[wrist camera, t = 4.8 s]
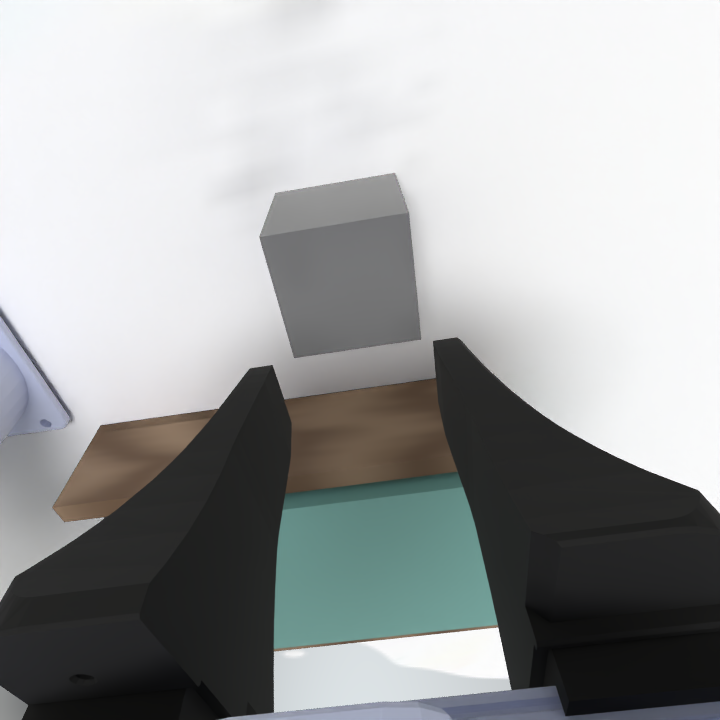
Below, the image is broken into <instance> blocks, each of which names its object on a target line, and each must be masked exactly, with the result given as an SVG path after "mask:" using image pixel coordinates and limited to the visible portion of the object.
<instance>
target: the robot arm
mask: <svg viewBox="0 0 720 720" xmlns="http://www.w3.org/2000/svg"><path fill="white" fill-rule="evenodd" d="M433 347H434V359H435V370H436V382H437V394H438V404H439V408H440V413H441V418H442V423H443V427H444V432H445V436H446V439H447V442H448V445H449V448H450V451H451V454H452V457H453V460H454V463H455V465H456V468H457V471H458V474H459V477H460V480H461V483H462V486H463V489H464V492H465V495H466V497H467V500H468V503H469V506H470V509H471V513H472V516H473V520H474V523H475V527H476V531H477V535H478V540H479V544H480V548H481V552H482V557H483V561H484V565H485V570H486V574H487V579H488V583H489V587H490V592H491V596H492V601H493V605H494V610H495V614H496V619H497V623H498V628H499V633H500V637H501V642H502V646H503V651H504V656H505V661H506V666H507V670H508V675H509V680H510V685H511V689H512V690H509V691H499V692H489V693H480V694H469V695H460V696H449V697H441V698H431V699H420V700H411V701H400V702H376V703H365V704H355V705H346V706H336V707H326V708H317V709H306V710H296V711H287V712H277V713H274V683H273V682H274V680H273V677H274V674H273V673H274V672H273V669H274V668H273V667H274V613H275V584H276V564H277V547H278V538H279V530H280V524H281V518H282V511H283V505H284V499H285V492H286V486H287V480H288V473H289V467H290V460H291V437H292V422H291V419H290V416H289V413H288V410H287V407H286V404H285V401H284V398H283V395H282V392H281V389H280V386H279V383H278V380H277V377H276V374H275V371H274V368H273V365H271V366H264V367H257V368H251V369H249V370H248V372H247V373H246V374H245V375H244V377H243V378H242V379H241V381H240V382H239V383H238V385H237V386H236V387H235V388H234V390H233V391H232V392H231V394H230V395H229V396H228V398H227V399H226V400H225V402H224V403H223V404H222V405H221V407H220V408H219V409H218V410H217V412H216V413H215V414H214V415H213V417H212V418H211V419H210V420H209V422H208V423H207V424H206V425H205V426H204V427H203V428H202V430H201V431H200V432H199V433H198V434H197V435H196V436H195V437H194V439H193V440H192V441H191V442H190V443H189V444H188V445H187V447H186V448H185V449H184V450H183V451H182V452H181V453H180V454H179V455H178V456H177V457H176V458H175V459H174V460H173V461H172V462H171V463H170V464H169V465H168V466H167V467H166V468H165V469H164V470H163V471H161V472H160V473H159V474H158V475H157V476H156V477H155V478H154V479H153V480H152V481H151V482H149V483H148V484H147V485H146V486H145V487H143V488H142V489H141V490H140V491H139V492H137V493H136V494H135V495H134V496H133V497H131V498H130V499H129V500H128V501H127V502H125V503H124V504H123V505H122V506H121V507H119V508H118V509H117V510H115V511H114V512H113V513H111V514H110V515H109V516H107V517H106V518H105V519H103V520H102V521H101V522H99V523H98V524H97V525H95V526H94V527H92V528H91V529H89V530H88V531H87V532H85V533H84V534H82V535H81V536H79V537H78V538H77V539H75V540H74V541H72V542H71V543H69V544H68V545H66V546H64V547H63V548H61V549H60V550H58V551H56V552H55V553H53V554H52V555H50V556H48V557H47V558H45V559H44V560H42V561H40V562H39V563H37V564H36V565H34V566H32V567H31V568H29V569H28V570H26V571H24V572H22V573H21V574H19V575H17V576H16V577H15V578H14V580H13V581H12V583H11V584H10V586H9V588H8V590H7V591H6V593H5V595H4V596H3V598H2V600H1V602H0V686H2V687H3V688H5V689H6V690H7V691H9V692H10V693H12V694H13V695H15V696H16V697H18V698H19V699H21V700H22V701H23V702H25V703H26V704H28V708H27V710H26V712H25V714H24V716H23V718H22V720H720V514H719V512H718V511H717V510H716V509H715V508H714V507H713V506H712V505H711V504H710V503H709V501H708V500H707V499H706V498H705V497H704V496H703V495H702V494H701V493H700V491H698V490H696V489H693V488H691V487H688V486H685V485H683V484H680V483H677V482H675V481H672V480H670V479H667V478H664V477H662V476H659V475H657V474H654V473H651V472H649V471H646V470H644V469H642V468H639V467H637V466H635V465H633V464H631V463H628V462H626V461H624V460H622V459H620V458H617V457H615V456H613V455H611V454H609V453H607V452H605V451H603V450H601V449H599V448H597V447H595V446H593V445H592V444H590V443H588V442H586V441H584V440H583V439H581V438H579V437H577V436H575V435H573V434H572V433H570V432H568V431H567V430H565V429H563V428H562V427H560V426H558V425H557V424H555V423H554V422H552V421H551V420H549V419H548V418H546V417H545V416H543V415H542V414H541V413H539V412H538V411H536V410H535V409H534V408H532V407H531V406H530V405H529V404H527V403H526V402H525V401H523V400H522V399H521V398H520V397H519V396H517V395H516V394H515V393H514V392H512V391H511V390H510V389H509V388H508V387H507V386H505V385H504V384H503V383H502V382H501V381H500V380H499V379H498V378H497V377H496V376H495V375H494V374H492V373H491V372H490V371H489V370H488V369H487V368H486V367H485V366H484V365H483V364H482V363H481V362H480V361H479V360H478V359H477V358H476V357H475V355H474V354H473V353H472V352H471V351H470V350H469V349H468V348H467V347H466V345H465V344H464V343H463V342H462V341H461V340H460V339H458V338H450V339H444V340H437V341H433ZM47 420H48V421H47ZM49 421H50V422H49ZM69 421H70V418H69V416H68V414H67V413H66V411H65V410H64V408H63V407H62V405H61V404H60V402H59V401H58V400H57V398H56V397H55V395H54V394H53V392H52V391H51V389H50V388H49V386H48V385H47V383H46V382H45V381H44V379H43V378H42V376H41V375H40V373H39V372H38V370H37V369H36V367H35V366H34V365H33V363H32V362H31V360H30V359H29V357H28V356H27V354H26V353H25V351H24V350H23V348H22V347H21V346H20V344H19V343H18V341H17V340H16V338H15V337H14V335H13V334H12V332H11V331H10V329H9V328H8V327H7V325H6V324H5V322H4V321H3V319H2V318H1V316H0V444H1V442H2V441H3V440H4V439H5V437H6V436H13V435H20V434H27V433H34V432H42V431H49V430H56V429H62V428H65V427H66V426H67V424H68V423H69Z"/></svg>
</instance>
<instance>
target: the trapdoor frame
mask: <svg viewBox="0 0 720 720" xmlns="http://www.w3.org/2000/svg"><path fill="white" fill-rule="evenodd" d="M284 401H285V404H286V407H287V410H288V413H289V416H290V419H291V422H292V437H291V460H290V467H289V473H288V480H287V486H286V492H285V494H287V493H295V492H303V491H311V490H318V489H326V488H334V487H342V486H350V485H357V484H365V483H373V482H381V481H389V480H396V479H404V478H412V477H420V476H428V475H435V474H443V473H451V472H458V471H457V468H456V465H455V463H454V460H453V457H452V454H451V451H450V448H449V445H448V442H447V439H446V436H445V432H444V427H443V423H442V418H441V413H440V408H439V404H438V394H437V382H436V379H429V380H422V381H415V382H408V383H401V384H394V385H387V386H380V387H372V388H365V389H358V390H351V391H344V392H337V393H330V394H323V395H316V396H308V397H301V398H294V399H287V400H284ZM217 410H218V409H216V410H209V411H202V412H195V413H187V414H180V415H173V416H166V417H159V418H152V419H145V420H138V421H131V422H123V423H116V424H109V425H102V426H100V428H99V429H98V431H97V433H96V434H95V436H94V438H93V439H92V441H91V443H90V445H89V446H88V448H87V450H86V451H85V453H84V455H83V456H82V458H81V460H80V462H79V463H78V465H77V467H76V468H75V470H74V472H73V473H72V475H71V477H70V479H69V480H68V482H67V484H66V485H65V487H64V489H63V490H62V492H61V494H60V496H59V497H58V499H57V501H56V502H55V504H54V506H53V507H52V508H53V509H54V510H55V511H56V513H57V514H58V515H59V516H60V517H61V519H62V520H63V521H64V522H69V521H77V520H84V519H92V518H100V517H107V516H109V515H110V514H111V513H113V512H114V511H115V510H117V509H118V508H119V507H121V506H122V505H123V504H124V503H125V502H127V501H128V500H129V499H130V498H131V497H133V496H134V495H135V494H136V493H137V492H139V491H140V490H141V489H142V488H143V487H145V486H146V485H147V484H148V483H149V482H151V481H152V480H153V479H154V478H155V477H156V476H157V475H158V474H159V473H160V472H161V471H163V470H164V469H165V468H166V467H167V466H168V465H169V464H170V463H171V462H172V461H173V460H174V459H175V458H176V457H177V456H178V455H179V454H180V453H181V452H182V451H183V450H184V449H185V448H186V447H187V445H188V444H189V443H190V442H191V441H192V440H193V439H194V437H195V436H196V435H197V434H198V433H199V432H200V431H201V430H202V428H203V427H204V426H205V425H206V424H207V423H208V422H209V420H210V419H211V418H212V417H213V415H214V414H215V413H216V412H217ZM496 627H498V625H492V626H482V627H473V628H464V629H454V630H445V631H436V632H427V633H417V634H408V635H399V636H390V637H380V638H371V639H362V640H353V641H343V642H334V643H325V644H315V645H306V646H297V647H288V648H278V649H274V651H282V650H292V649H301V648H310V647H320V646H329V645H337V644H347V643H357V642H366V641H375V640H385V639H394V638H403V637H412V636H422V635H431V634H440V633H450V632H459V631H468V630H478V629H487V628H496Z"/></svg>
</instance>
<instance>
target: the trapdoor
mask: <svg viewBox="0 0 720 720" xmlns="http://www.w3.org/2000/svg"><path fill="white" fill-rule="evenodd" d="M105 518H106V517H104V519H105ZM492 625H498V623H497V619H496V614H495V610H494V605H493V601H492V596H491V592H490V587H489V583H488V579H487V574H486V570H485V565H484V561H483V557H482V552H481V548H480V544H479V540H478V535H477V531H476V527H475V523H474V520H473V516H472V513H471V509H470V506H469V503H468V500H467V497H466V495H465V492H464V489H463V486H462V483H461V480H460V477H459V474H458V472H451V473H443V474H435V475H428V476H420V477H412V478H404V479H396V480H389V481H381V482H373V483H365V484H357V485H350V486H342V487H334V488H326V489H318V490H311V491H303V492H295V493H287V494H285V499H284V505H283V511H282V518H281V524H280V530H279V538H278V547H277V564H276V584H275V613H274V649H278V648H288V647H297V646H306V645H315V644H325V643H334V642H343V641H353V640H362V639H371V638H380V637H390V636H399V635H408V634H417V633H427V632H436V631H445V630H454V629H464V628H473V627H482V626H492Z"/></svg>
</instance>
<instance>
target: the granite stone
mask: <svg viewBox="0 0 720 720" xmlns="http://www.w3.org/2000/svg"><path fill="white" fill-rule="evenodd" d="M260 241H261V244H262V248H263V251H264V255H265V258H266V262H267V265H268V269H269V272H270V276H271V279H272V282H273V286H274V289H275V293H276V296H277V300H278V303H279V307H280V310H281V314H282V317H283V321H284V324H285V328H286V331H287V335H288V338H289V341H290V345H291V348H292V352H293V355H294V358H298V357H304V356H311V355H318V354H325V353H332V352H338V351H345V350H352V349H359V348H366V347H372V346H379V345H386V344H393V343H400V342H406V341H413V340H420V339H421V333H420V323H419V313H418V302H417V292H416V281H415V271H414V260H413V250H412V240H411V229H410V219H409V211H408V209H407V206H406V203H405V200H404V197H403V194H402V192H401V189H400V186H399V183H398V180H397V177H396V175H395V173H392V174H386V175H380V176H374V177H368V178H362V179H356V180H350V181H345V182H339V183H333V184H327V185H321V186H315V187H309V188H303V189H297V190H291V191H285V192H279V193H275V196H274V199H273V201H272V204H271V207H270V210H269V212H268V215H267V218H266V220H265V223H264V226H263V229H262V231H261V234H260Z"/></svg>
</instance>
